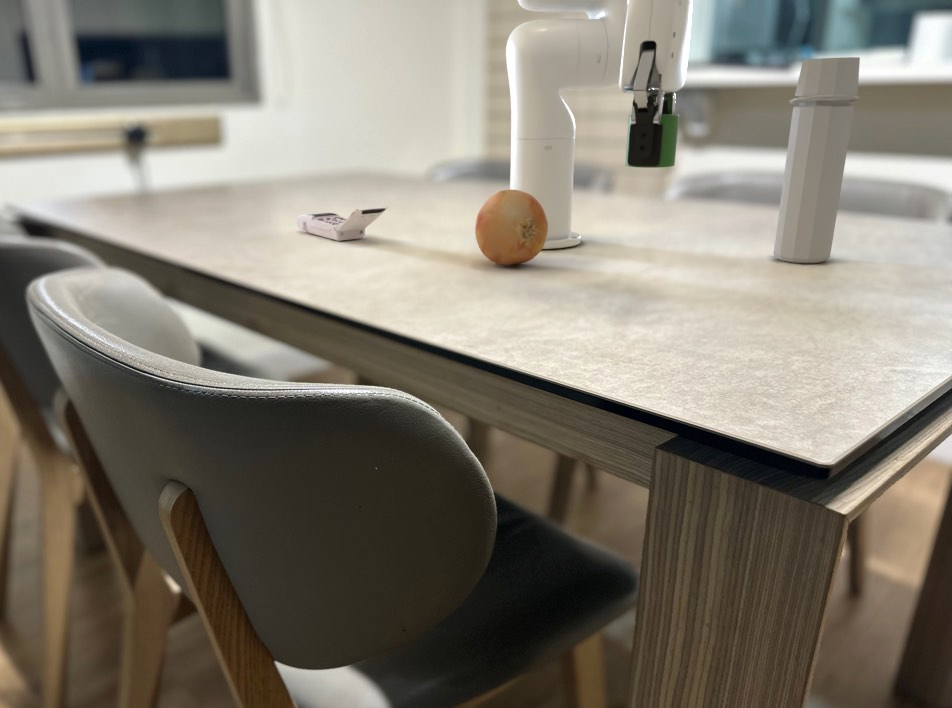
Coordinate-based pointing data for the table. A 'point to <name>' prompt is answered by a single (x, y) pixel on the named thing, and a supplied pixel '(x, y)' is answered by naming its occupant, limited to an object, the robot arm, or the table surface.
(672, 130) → the green cylinder with nub
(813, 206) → the water bottle
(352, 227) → the mobile phone
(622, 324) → the table surface
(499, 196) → the onion
